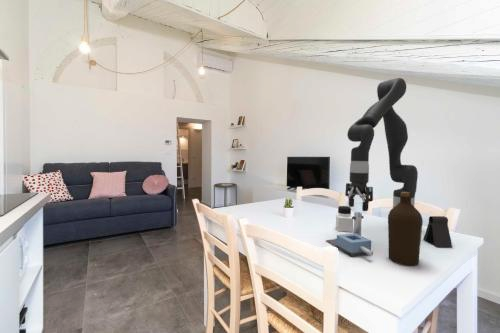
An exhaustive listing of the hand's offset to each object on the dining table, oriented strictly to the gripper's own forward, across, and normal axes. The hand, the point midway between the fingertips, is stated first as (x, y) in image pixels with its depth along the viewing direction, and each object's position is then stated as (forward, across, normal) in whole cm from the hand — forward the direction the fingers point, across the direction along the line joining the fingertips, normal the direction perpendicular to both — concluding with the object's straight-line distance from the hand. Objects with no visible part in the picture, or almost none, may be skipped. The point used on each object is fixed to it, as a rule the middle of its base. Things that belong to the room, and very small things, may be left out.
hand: (357, 208), depth 107 cm
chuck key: (+15, 0, 0) cm, 15 cm away
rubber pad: (+15, +1, +9) cm, 17 cm away
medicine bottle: (+15, +17, -6) cm, 24 cm away
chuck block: (+15, -10, +8) cm, 20 cm away
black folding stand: (+15, -11, -32) cm, 37 cm away
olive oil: (+15, -20, -4) cm, 25 cm away
